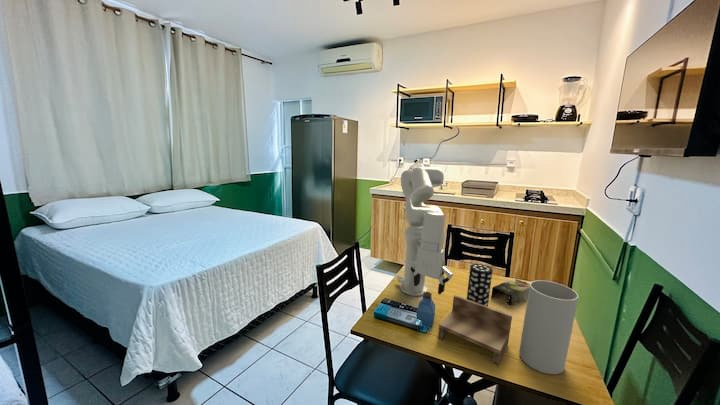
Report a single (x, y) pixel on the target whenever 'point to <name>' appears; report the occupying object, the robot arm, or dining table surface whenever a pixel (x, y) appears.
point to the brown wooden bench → (478, 326)
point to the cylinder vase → (548, 326)
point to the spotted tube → (479, 283)
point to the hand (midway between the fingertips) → (428, 288)
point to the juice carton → (512, 290)
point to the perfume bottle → (426, 310)
